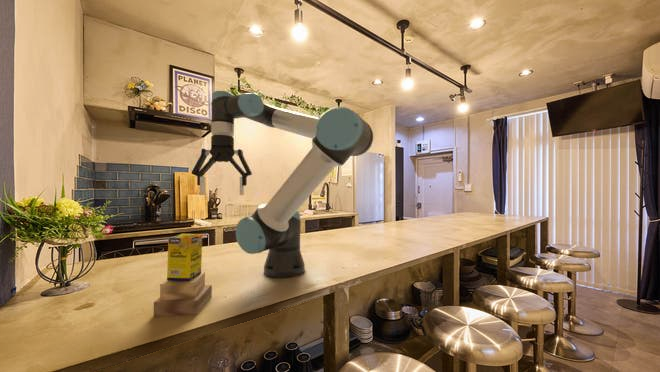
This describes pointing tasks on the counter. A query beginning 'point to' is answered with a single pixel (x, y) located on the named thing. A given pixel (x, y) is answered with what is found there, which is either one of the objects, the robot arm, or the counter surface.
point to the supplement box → (184, 257)
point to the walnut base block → (183, 304)
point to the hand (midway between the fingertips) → (222, 195)
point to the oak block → (182, 288)
